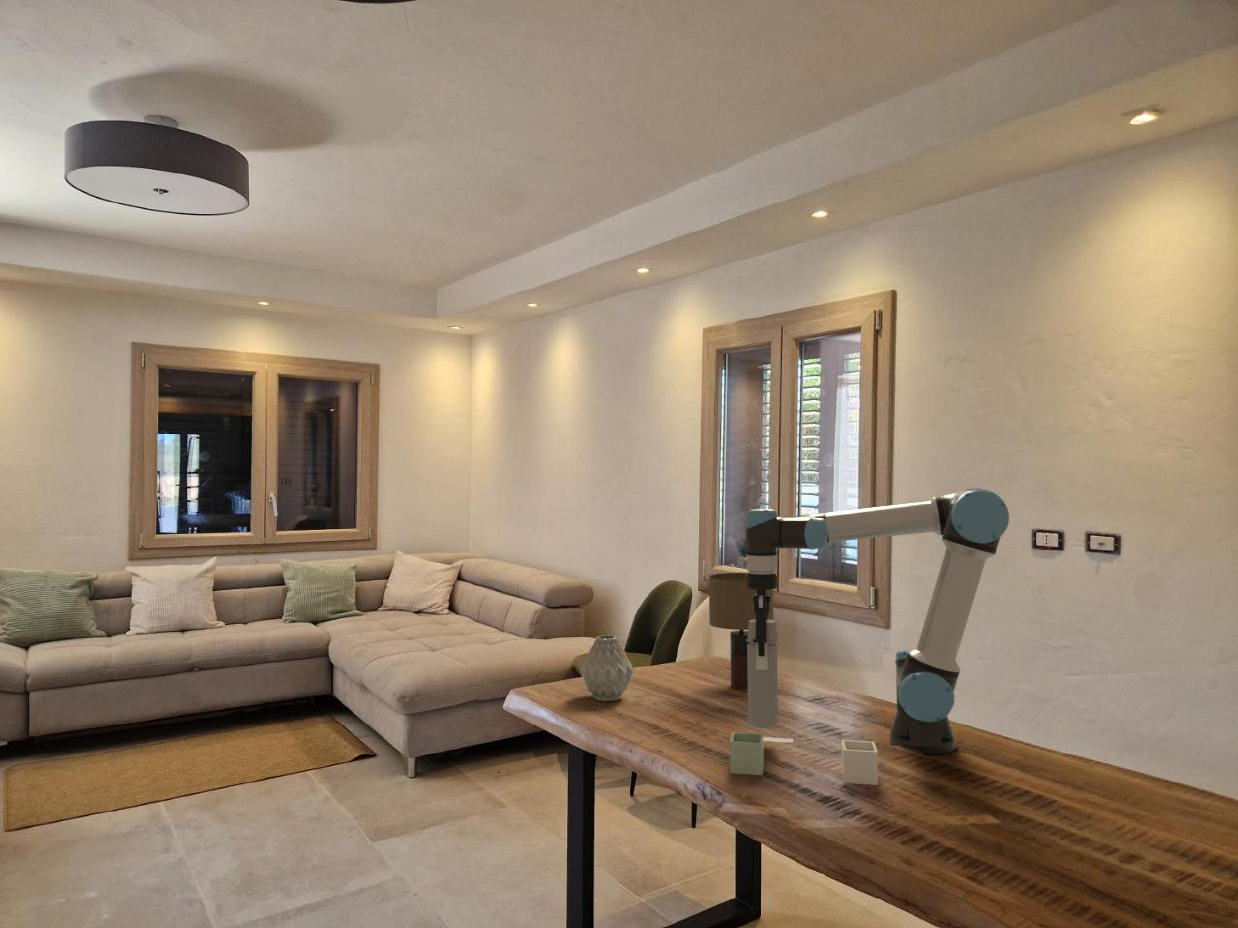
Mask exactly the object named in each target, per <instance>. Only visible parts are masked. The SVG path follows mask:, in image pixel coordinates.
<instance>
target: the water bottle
mask: <svg viewBox="0 0 1238 928" xmlns="http://www.w3.org/2000/svg"><path fill="white" fill-rule="evenodd" d="M747 631H748V637H747V638H748V639H747V640H746V641H748V642H750V643H748V644H747V663H748V689H747V721H748V723H749V724H750V725H751V726H753V727H755V728H761V729H768V728H775V726H777V724H778V723H779V719H778V718H779V717H778V716H779V715H778V714H779V712H778V705H779V704H778V702H779V701H778V698H779V697H778V696H779V695H778V644H777V643H779V640H778V630H777V621H776V620H767V657H768V670H756V642H753V639H755V638H756V619H754V620H750V621H749V625H748V630H747Z"/></svg>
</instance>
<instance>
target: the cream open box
mask: <svg viewBox="0 0 1238 928" xmlns="http://www.w3.org/2000/svg"><path fill="white" fill-rule="evenodd" d="M840 742H841V774H842V779H843V780H842V781H843V784H856V785H857V784H858V785H869V786H871V785H872V786H879V763H878V762H879V758H878V757H879V755H878V754H879V751H878V749H877V745H876V742H875V741H869V740H868V741H867V740H853V739H852V740H851V739H841V741H840Z"/></svg>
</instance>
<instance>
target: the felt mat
mask: <svg viewBox="0 0 1238 928" xmlns="http://www.w3.org/2000/svg"><path fill="white" fill-rule="evenodd" d="M763 738H764V742H776V743H777V742H778V743H791V744H792V743H794V738H783V737H770V736H769V737H766V736H763Z"/></svg>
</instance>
